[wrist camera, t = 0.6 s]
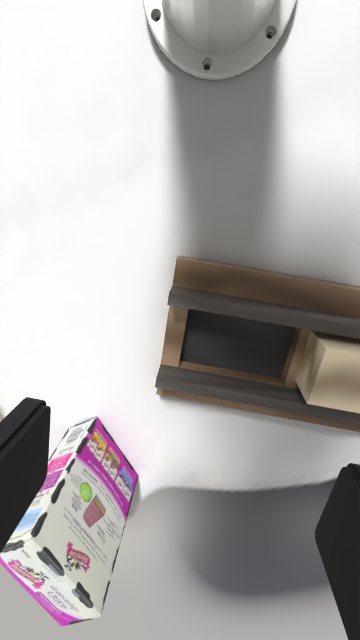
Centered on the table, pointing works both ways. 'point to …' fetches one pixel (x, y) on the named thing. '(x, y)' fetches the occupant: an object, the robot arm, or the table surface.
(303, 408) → the runway board
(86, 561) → the candy bar box
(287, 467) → the table surface
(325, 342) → the maple block
